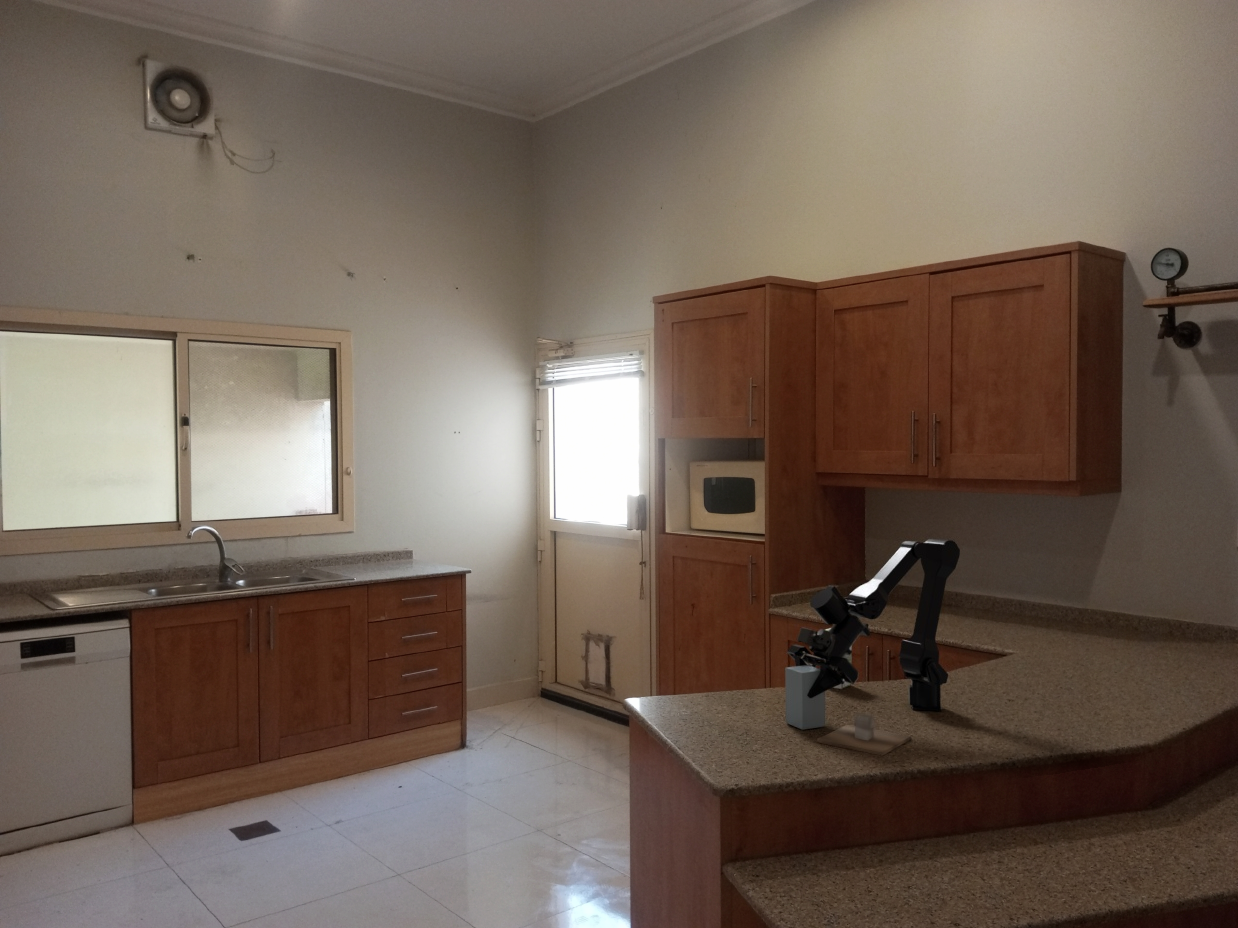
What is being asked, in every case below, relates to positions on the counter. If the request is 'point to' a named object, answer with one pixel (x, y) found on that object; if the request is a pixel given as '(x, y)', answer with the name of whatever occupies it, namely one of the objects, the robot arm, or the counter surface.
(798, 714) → the tall slate pillar
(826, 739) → the post base
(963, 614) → the counter surface
